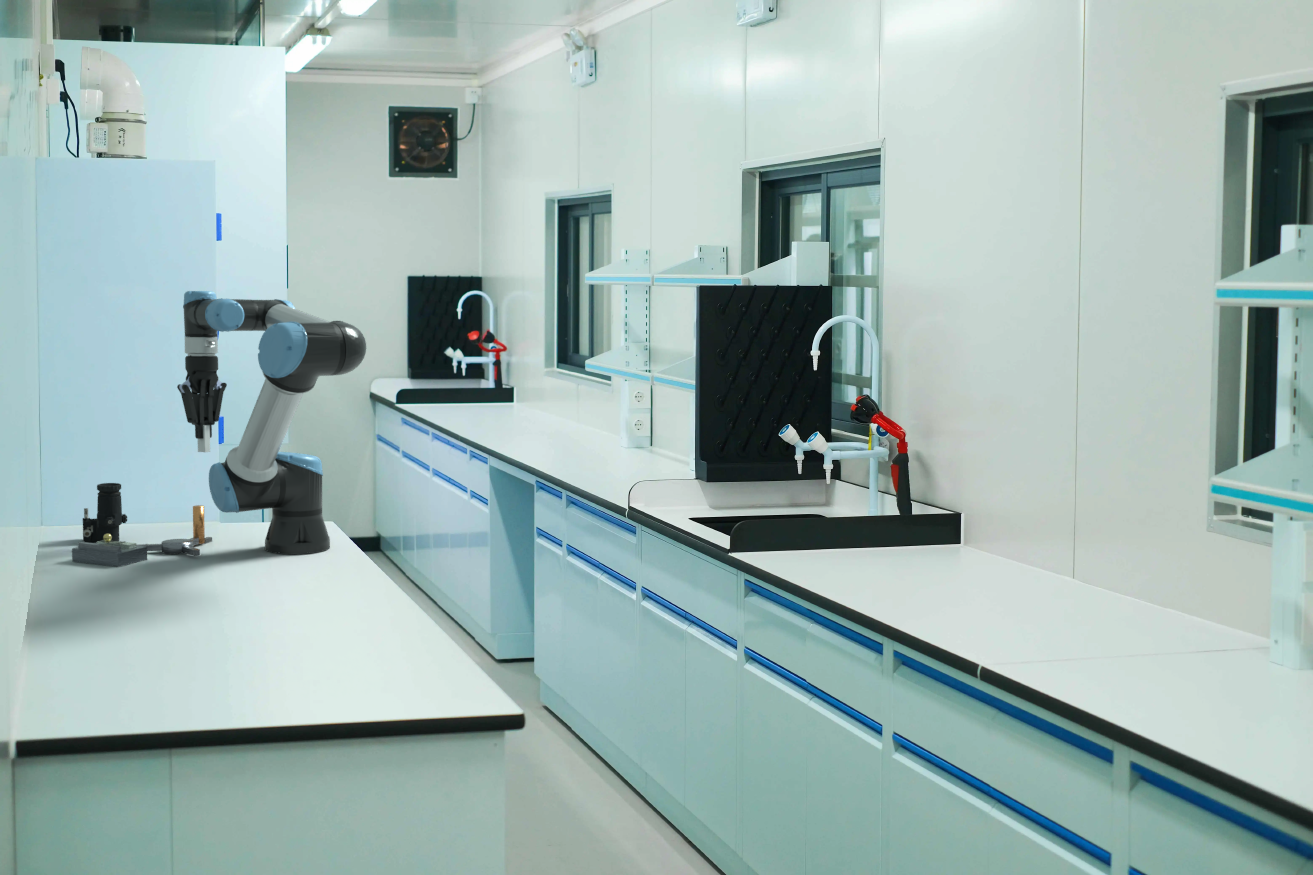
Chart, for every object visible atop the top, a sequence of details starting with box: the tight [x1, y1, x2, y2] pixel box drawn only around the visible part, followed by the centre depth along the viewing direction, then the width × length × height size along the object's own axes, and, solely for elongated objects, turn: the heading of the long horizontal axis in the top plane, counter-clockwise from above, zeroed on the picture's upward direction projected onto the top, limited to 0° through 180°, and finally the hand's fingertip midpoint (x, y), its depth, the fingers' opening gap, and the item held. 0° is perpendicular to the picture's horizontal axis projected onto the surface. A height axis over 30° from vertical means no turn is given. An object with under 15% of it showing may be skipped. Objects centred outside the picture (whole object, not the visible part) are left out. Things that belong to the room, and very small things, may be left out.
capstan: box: [136, 504, 206, 557], centre depth 303 cm, size 16×17×9 cm
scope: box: [82, 482, 128, 543], centre depth 311 cm, size 8×14×10 cm
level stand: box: [71, 534, 148, 568], centre depth 290 cm, size 13×9×6 cm
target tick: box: [204, 536, 213, 544], centre depth 313 cm, size 3×1×1 cm, turn 168°
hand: (204, 451), depth 312 cm, fingers closed
